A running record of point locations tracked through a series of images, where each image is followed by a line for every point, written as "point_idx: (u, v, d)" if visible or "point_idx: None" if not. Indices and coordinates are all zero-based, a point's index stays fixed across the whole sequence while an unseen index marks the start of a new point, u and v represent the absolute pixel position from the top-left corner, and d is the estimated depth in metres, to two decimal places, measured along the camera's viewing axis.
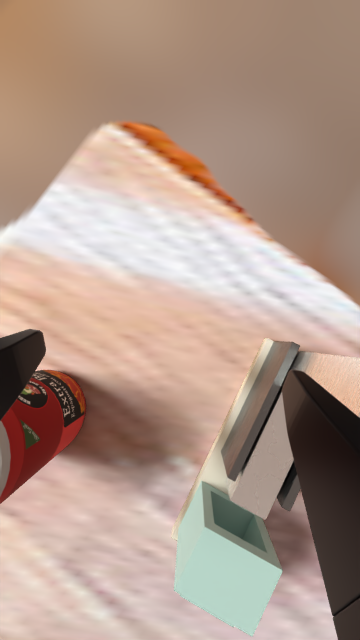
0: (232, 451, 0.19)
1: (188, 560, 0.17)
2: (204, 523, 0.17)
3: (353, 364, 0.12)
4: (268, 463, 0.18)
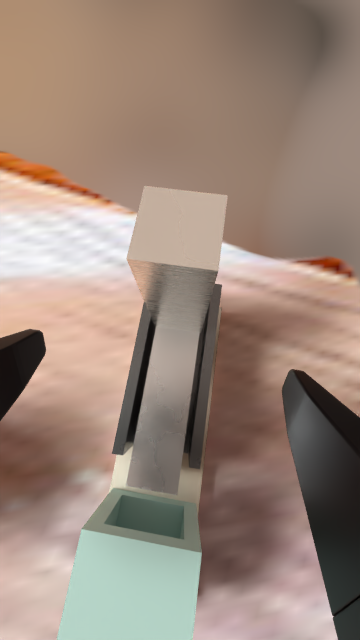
0: None
1: (67, 594, 0.11)
2: (85, 526, 0.12)
3: None
4: (161, 418, 0.14)
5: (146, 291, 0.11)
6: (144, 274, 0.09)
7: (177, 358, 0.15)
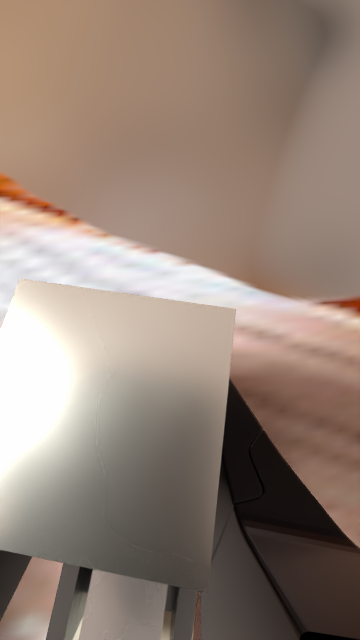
0: None
1: None
2: None
3: None
4: (123, 595, 0.09)
5: None
6: None
7: None
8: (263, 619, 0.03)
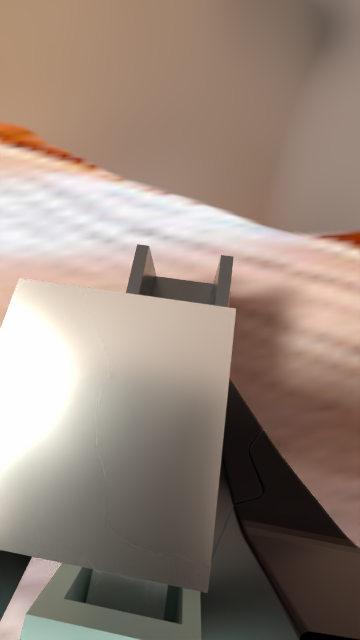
0: None
1: None
2: (33, 606, 0.08)
3: None
4: (123, 595, 0.09)
5: None
6: None
7: None
8: (263, 619, 0.03)
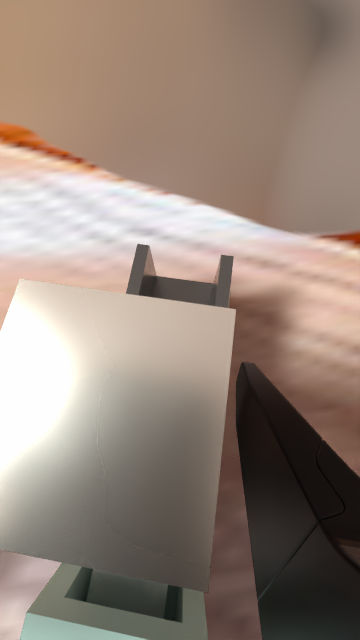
0: None
1: None
2: (34, 605, 0.08)
3: None
4: (123, 595, 0.09)
5: None
6: None
7: None
8: None
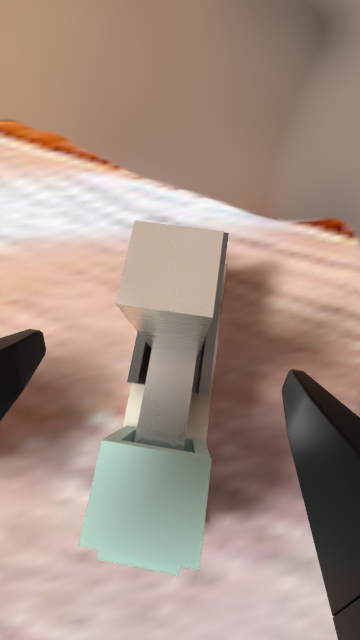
0: None
1: (90, 494, 0.12)
2: (104, 439, 0.13)
3: None
4: (156, 445, 0.14)
5: (139, 325, 0.10)
6: (135, 315, 0.09)
7: (173, 382, 0.15)
8: None
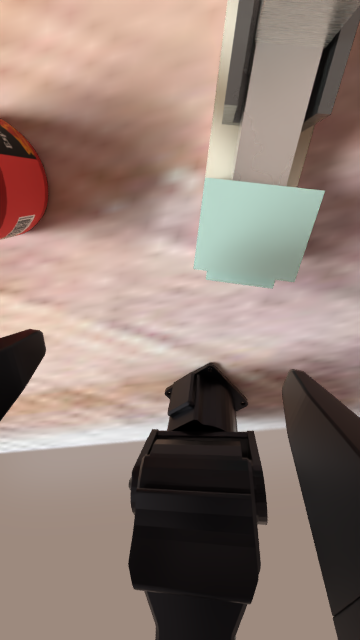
0: None
1: (199, 230, 0.13)
2: None
3: None
4: None
5: None
6: None
7: (283, 101, 0.12)
8: None
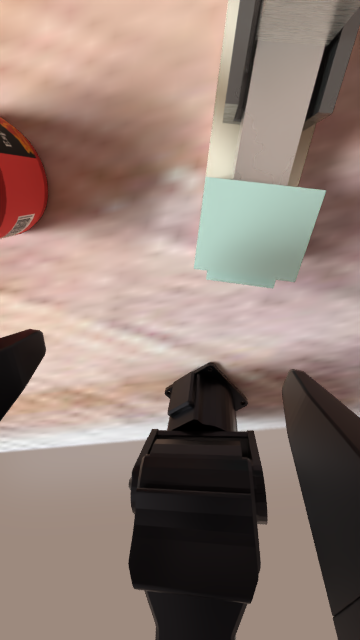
0: None
1: (199, 230, 0.13)
2: None
3: None
4: None
5: None
6: None
7: (284, 100, 0.11)
8: None
